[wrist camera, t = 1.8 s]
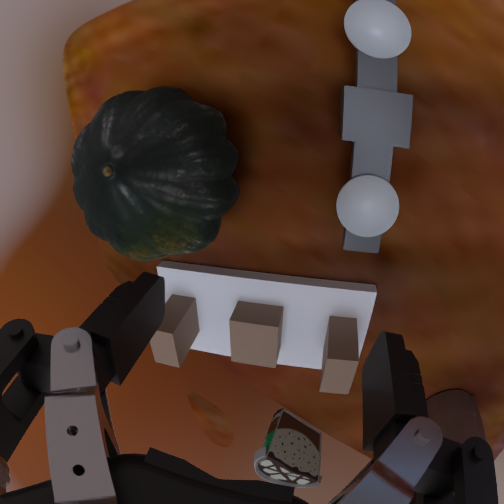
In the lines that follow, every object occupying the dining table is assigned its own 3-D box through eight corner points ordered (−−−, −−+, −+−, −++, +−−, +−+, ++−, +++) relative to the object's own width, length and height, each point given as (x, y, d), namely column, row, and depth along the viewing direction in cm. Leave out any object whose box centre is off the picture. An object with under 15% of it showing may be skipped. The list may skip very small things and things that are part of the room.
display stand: (375, 284, 32) (384, 334, 25) (354, 363, 37) (354, 413, 30) (162, 260, 37) (127, 297, 30) (175, 337, 42) (150, 378, 35)
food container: (249, 414, 47) (233, 465, 38) (275, 403, 44) (262, 458, 35) (300, 445, 49) (291, 493, 40) (327, 436, 46) (321, 486, 37)
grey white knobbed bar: (340, -2, 20) (342, -25, 15) (395, 6, 19) (410, -15, 14) (331, 225, 30) (331, 253, 25) (381, 231, 29) (391, 260, 24)
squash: (105, 263, 32) (112, 320, 19) (61, 131, 27) (35, 95, 14) (221, 216, 37) (296, 238, 24) (185, 92, 32) (245, 42, 19)
